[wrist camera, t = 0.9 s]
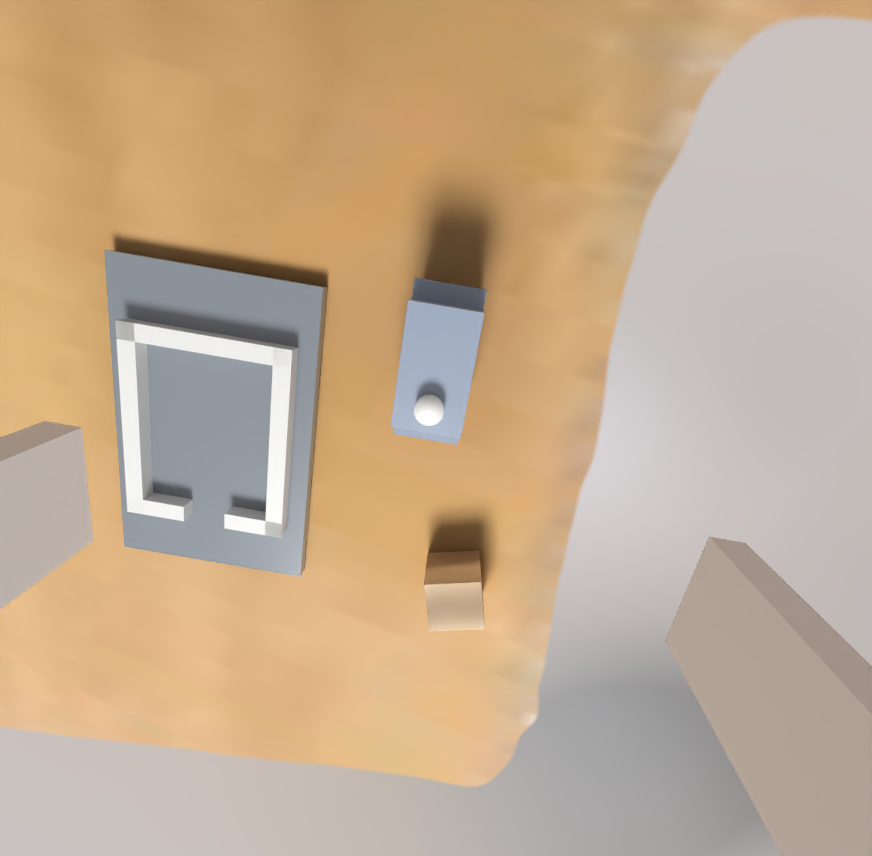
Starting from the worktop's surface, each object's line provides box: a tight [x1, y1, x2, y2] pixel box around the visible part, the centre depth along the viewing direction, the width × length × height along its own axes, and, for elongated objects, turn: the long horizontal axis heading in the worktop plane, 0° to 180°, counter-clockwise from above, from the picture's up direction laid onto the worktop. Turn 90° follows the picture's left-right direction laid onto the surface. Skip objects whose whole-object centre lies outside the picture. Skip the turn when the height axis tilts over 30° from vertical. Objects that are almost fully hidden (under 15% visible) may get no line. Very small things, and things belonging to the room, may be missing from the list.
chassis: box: [105, 250, 327, 577], centre depth 32 cm, size 22×14×2 cm, turn 171°
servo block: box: [391, 277, 487, 445], centre depth 28 cm, size 9×4×7 cm, turn 171°
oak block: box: [424, 550, 485, 631], centre depth 35 cm, size 4×4×4 cm
